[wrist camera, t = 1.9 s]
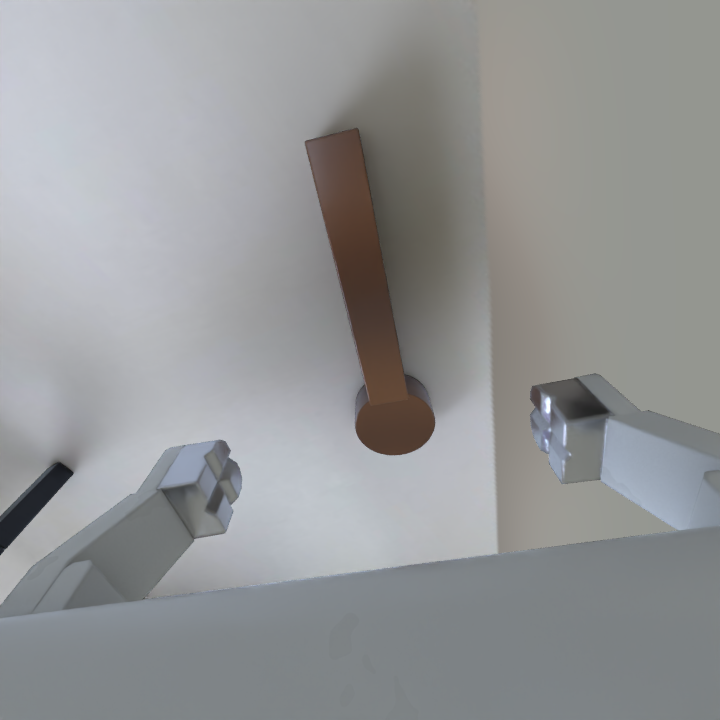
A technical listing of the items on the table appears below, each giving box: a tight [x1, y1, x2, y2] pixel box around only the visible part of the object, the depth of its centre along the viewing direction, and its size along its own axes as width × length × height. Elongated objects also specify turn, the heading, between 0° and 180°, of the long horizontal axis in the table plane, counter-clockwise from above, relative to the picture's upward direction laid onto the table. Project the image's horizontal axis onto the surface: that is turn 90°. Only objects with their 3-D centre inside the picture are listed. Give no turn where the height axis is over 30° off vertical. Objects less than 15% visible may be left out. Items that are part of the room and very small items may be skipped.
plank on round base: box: [305, 128, 435, 455], centre depth 18 cm, size 16×4×3 cm, turn 12°
